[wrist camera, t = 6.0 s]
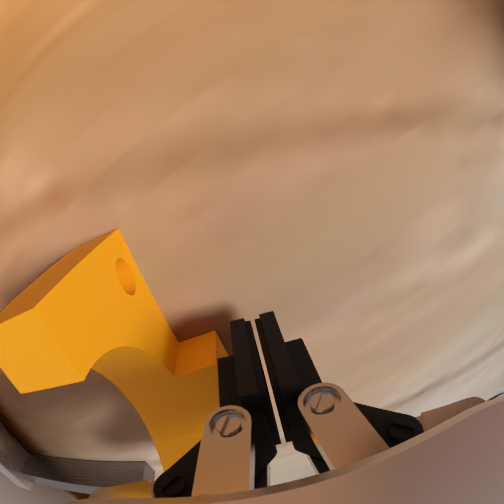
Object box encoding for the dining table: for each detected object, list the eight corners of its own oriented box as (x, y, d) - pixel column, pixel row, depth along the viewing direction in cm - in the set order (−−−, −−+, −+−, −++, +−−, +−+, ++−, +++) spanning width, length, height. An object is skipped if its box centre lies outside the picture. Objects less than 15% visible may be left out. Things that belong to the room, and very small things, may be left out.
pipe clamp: (262, 414, 15) (284, 514, 9) (192, 432, 15) (192, 528, 9) (158, 209, 11) (96, 280, 5) (70, 251, 11) (-23, 334, 5)
